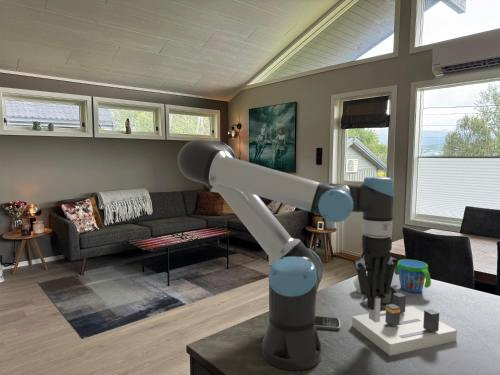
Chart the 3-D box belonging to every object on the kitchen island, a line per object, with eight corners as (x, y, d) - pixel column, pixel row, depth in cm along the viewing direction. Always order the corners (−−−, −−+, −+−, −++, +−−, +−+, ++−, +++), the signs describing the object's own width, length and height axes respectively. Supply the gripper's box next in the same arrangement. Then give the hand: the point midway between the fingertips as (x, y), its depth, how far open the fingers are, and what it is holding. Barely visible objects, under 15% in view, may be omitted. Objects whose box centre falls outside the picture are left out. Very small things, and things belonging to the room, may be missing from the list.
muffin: (365, 296, 124) (365, 277, 123) (349, 291, 128) (350, 273, 127) (373, 292, 128) (374, 273, 127) (359, 287, 132) (359, 269, 132)
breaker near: (431, 332, 92) (432, 314, 91) (423, 327, 94) (424, 310, 94) (438, 331, 92) (439, 313, 92) (430, 326, 95) (431, 309, 94)
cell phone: (340, 332, 99) (341, 327, 99) (302, 328, 101) (302, 324, 101) (339, 322, 105) (339, 317, 105) (302, 319, 107) (302, 314, 107)
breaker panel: (390, 355, 87) (390, 343, 87) (352, 326, 102) (352, 316, 102) (456, 340, 94) (456, 330, 94) (411, 315, 109) (411, 305, 109)
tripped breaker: (391, 326, 95) (392, 309, 94) (385, 322, 97) (385, 305, 97) (399, 325, 96) (400, 307, 95) (392, 320, 98) (393, 303, 98)
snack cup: (386, 283, 137) (387, 258, 136) (409, 281, 139) (410, 256, 138) (413, 299, 121) (414, 270, 120) (438, 296, 124) (440, 268, 123)
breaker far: (398, 313, 103) (399, 296, 102) (392, 309, 105) (392, 293, 105) (405, 311, 104) (405, 295, 103) (398, 308, 106) (399, 292, 106)
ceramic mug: (385, 297, 122) (385, 276, 122) (398, 307, 114) (398, 285, 114) (357, 300, 121) (357, 278, 120) (368, 310, 113) (368, 287, 112)
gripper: (365, 240, 87) (362, 330, 89) (407, 236, 91) (403, 322, 93) (347, 233, 94) (345, 317, 96) (387, 230, 98) (384, 310, 100)
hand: (374, 319), depth 94 cm, fingers closed
